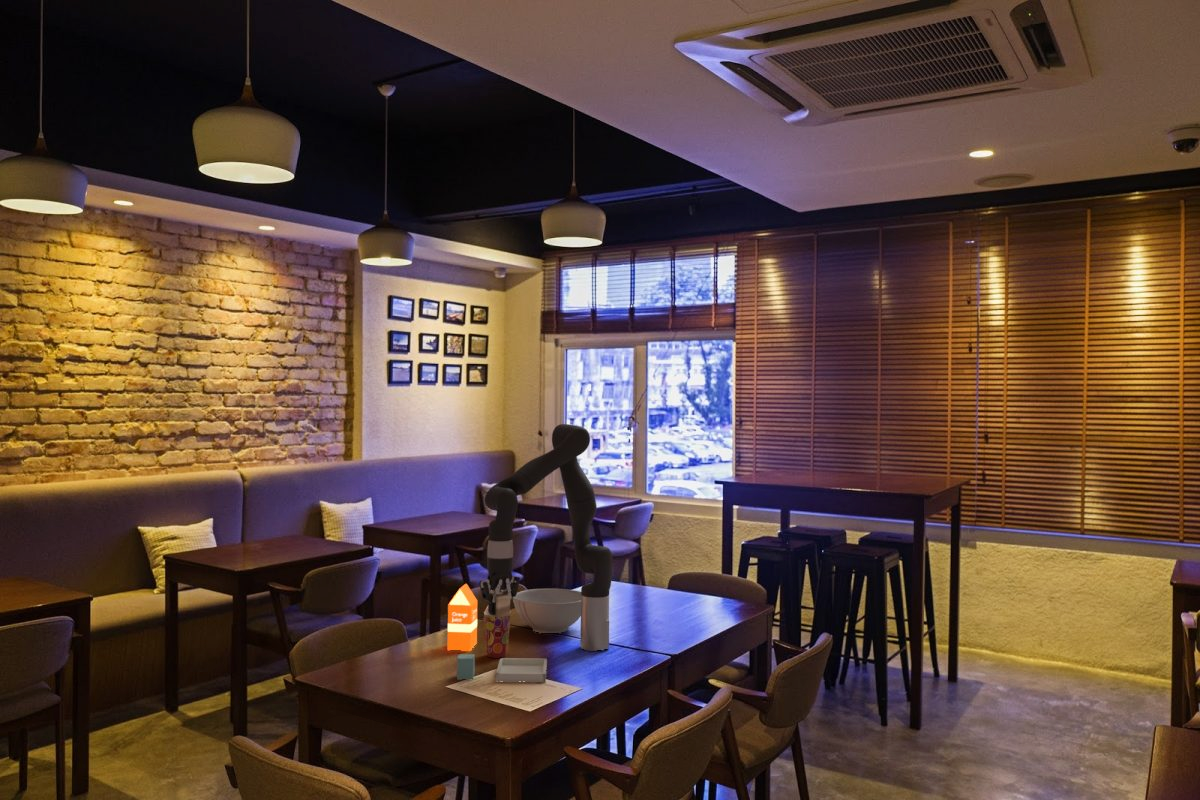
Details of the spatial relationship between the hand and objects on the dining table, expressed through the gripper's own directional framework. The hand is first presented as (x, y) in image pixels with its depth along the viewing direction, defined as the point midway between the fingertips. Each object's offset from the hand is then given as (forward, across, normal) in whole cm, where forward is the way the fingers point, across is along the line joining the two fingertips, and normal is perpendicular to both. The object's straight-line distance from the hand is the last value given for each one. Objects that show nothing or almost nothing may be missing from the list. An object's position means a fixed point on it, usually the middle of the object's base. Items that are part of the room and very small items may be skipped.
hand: (499, 613), depth 259 cm
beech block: (+1, 0, 0) cm, 1 cm away
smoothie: (+18, +10, +14) cm, 25 cm away
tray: (+17, +4, -7) cm, 19 cm away
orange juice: (+18, +9, +30) cm, 36 cm away
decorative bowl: (+18, +45, +28) cm, 56 cm away
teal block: (+17, -10, +2) cm, 20 cm away
